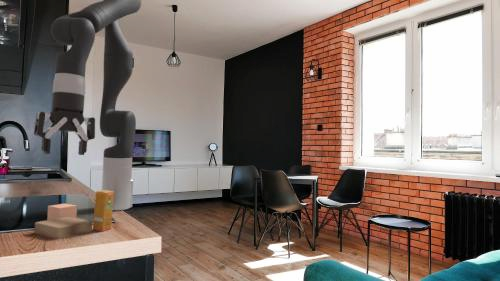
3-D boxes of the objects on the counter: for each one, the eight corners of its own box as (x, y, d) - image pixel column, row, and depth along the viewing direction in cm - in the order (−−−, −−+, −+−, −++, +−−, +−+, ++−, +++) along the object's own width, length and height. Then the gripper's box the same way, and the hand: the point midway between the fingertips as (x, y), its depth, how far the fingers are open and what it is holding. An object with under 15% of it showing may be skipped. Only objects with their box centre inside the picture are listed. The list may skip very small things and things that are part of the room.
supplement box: (103, 231, 89) (105, 192, 89) (92, 230, 90) (94, 191, 90) (112, 228, 92) (114, 190, 92) (101, 227, 93) (103, 189, 93)
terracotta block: (64, 221, 98) (65, 203, 98) (76, 223, 96) (77, 205, 96) (47, 224, 94) (48, 205, 94) (59, 227, 91) (60, 208, 91)
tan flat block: (68, 227, 93) (69, 216, 93) (91, 233, 89) (92, 221, 89) (34, 234, 85) (34, 222, 85) (58, 241, 81) (58, 228, 81)
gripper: (89, 98, 100) (85, 154, 100) (33, 89, 90) (29, 152, 89) (102, 96, 95) (97, 155, 95) (44, 86, 85) (39, 153, 84)
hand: (64, 154), depth 92 cm, fingers open, 8 cm apart
